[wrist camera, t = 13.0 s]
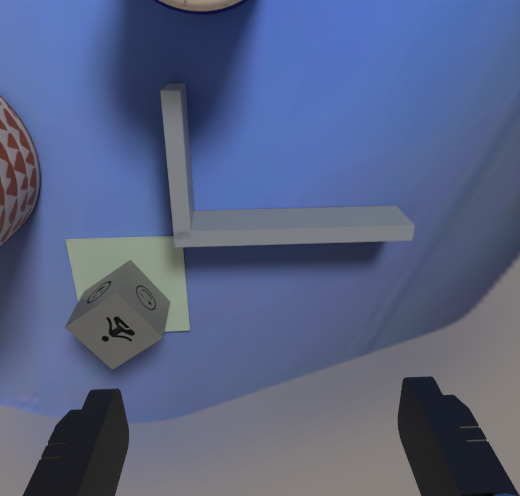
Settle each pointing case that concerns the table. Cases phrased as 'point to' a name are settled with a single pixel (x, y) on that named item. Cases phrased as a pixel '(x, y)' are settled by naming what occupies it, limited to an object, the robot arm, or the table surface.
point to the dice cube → (120, 315)
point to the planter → (16, 172)
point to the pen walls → (260, 220)
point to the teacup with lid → (201, 5)
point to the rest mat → (145, 258)
